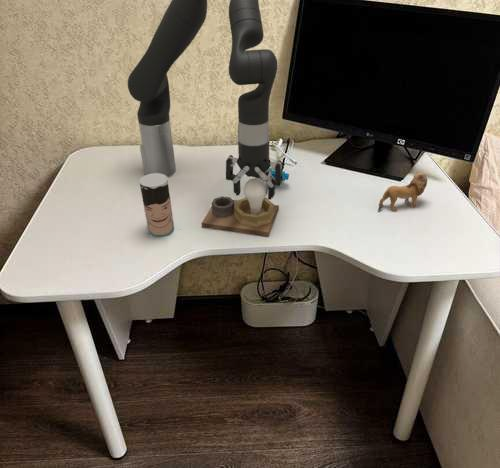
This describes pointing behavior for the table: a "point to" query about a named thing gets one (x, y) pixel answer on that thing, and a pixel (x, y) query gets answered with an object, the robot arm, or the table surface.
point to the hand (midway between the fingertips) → (254, 196)
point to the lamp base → (236, 224)
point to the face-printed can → (157, 204)
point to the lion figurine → (405, 191)
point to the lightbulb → (255, 194)
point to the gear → (273, 173)
